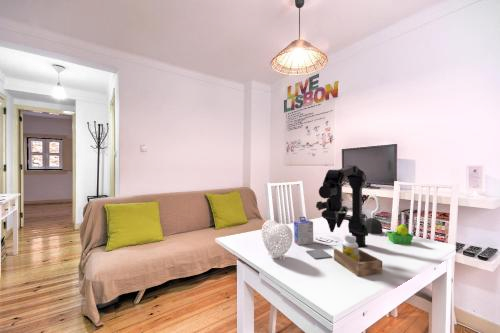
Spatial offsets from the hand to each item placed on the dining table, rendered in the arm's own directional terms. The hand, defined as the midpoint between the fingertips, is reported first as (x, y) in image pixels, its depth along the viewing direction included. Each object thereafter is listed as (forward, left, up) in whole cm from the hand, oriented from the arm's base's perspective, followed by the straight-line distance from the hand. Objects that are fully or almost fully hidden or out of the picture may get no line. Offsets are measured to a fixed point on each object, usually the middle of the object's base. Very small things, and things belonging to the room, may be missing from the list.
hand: (335, 229), depth 105 cm
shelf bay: (-5, +8, -14) cm, 17 cm away
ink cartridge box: (+4, -24, -14) cm, 28 cm away
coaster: (+5, -7, -14) cm, 16 cm away
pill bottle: (-5, +4, -14) cm, 16 cm away
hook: (-49, -31, -14) cm, 59 cm away
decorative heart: (+26, -8, -14) cm, 31 cm away
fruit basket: (-50, -12, -14) cm, 53 cm away
